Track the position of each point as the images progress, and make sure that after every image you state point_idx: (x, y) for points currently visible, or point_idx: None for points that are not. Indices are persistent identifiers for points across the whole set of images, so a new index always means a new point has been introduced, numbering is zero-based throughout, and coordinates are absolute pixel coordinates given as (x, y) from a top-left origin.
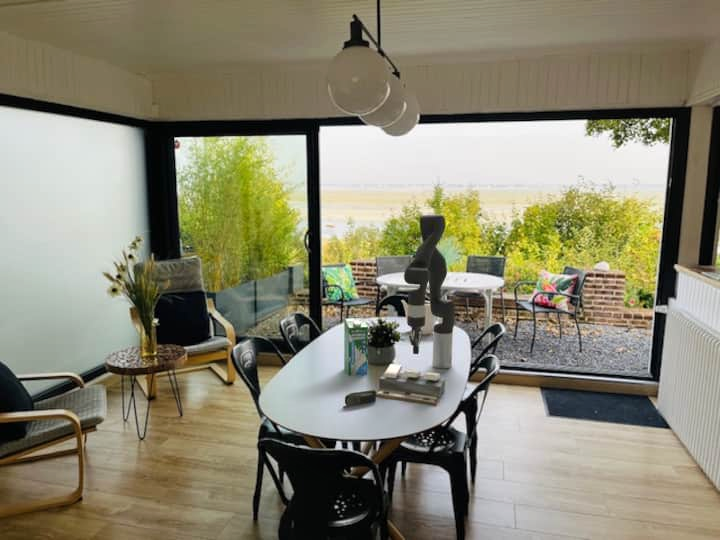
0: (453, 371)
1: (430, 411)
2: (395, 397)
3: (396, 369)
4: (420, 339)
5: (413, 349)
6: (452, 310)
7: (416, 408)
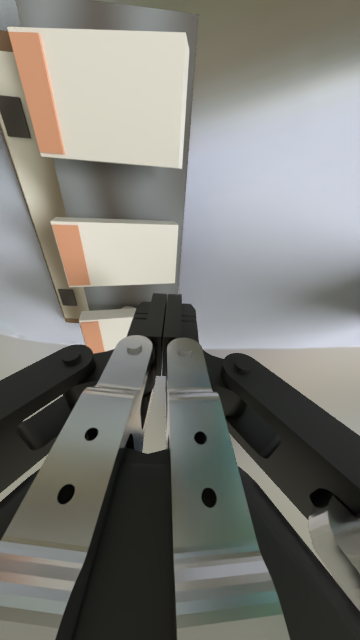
0: (338, 325)
1: (24, 311)
2: (20, 183)
3: (107, 139)
4: (237, 423)
5: (148, 313)
6: None
7: (12, 275)
